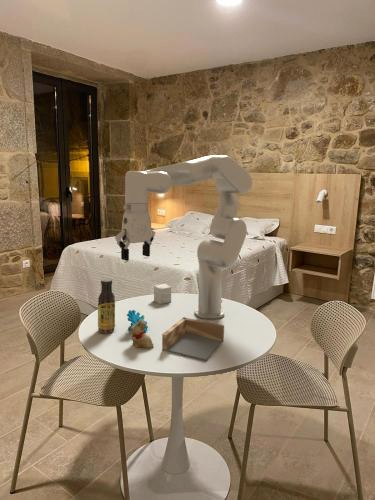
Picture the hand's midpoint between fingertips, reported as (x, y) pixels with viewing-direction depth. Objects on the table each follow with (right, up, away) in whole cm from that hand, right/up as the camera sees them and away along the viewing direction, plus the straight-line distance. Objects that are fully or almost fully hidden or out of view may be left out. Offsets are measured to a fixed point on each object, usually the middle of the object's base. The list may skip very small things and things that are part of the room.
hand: (135, 257), depth 128 cm
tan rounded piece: (+2, -31, 0) cm, 31 cm away
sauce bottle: (-12, -28, +11) cm, 32 cm away
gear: (-1, -28, +12) cm, 30 cm away
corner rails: (+20, -30, 0) cm, 36 cm away
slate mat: (+20, -30, 0) cm, 36 cm away
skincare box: (+6, -21, +42) cm, 48 cm away
